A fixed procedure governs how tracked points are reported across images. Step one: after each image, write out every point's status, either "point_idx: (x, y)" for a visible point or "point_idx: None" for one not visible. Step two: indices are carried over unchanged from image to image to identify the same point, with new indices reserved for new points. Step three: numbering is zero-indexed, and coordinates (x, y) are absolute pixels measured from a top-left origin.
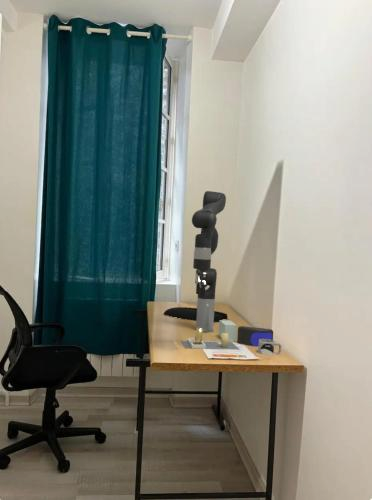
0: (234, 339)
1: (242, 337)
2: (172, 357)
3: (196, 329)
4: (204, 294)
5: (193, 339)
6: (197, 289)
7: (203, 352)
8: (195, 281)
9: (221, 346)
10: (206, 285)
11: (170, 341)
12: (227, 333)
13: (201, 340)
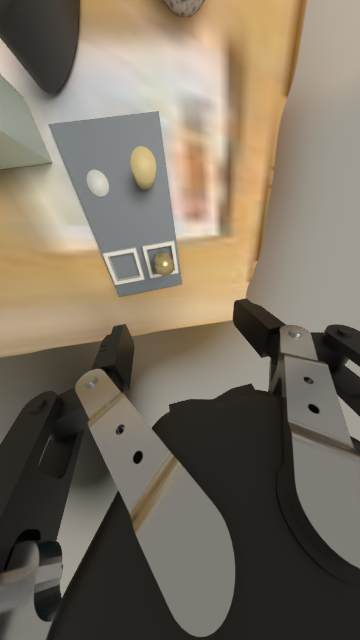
0: (14, 95)
1: (50, 36)
2: (217, 299)
3: (168, 274)
4: (250, 305)
5: (113, 270)
6: (130, 361)
7: None
8: (66, 438)
9: (150, 188)
10: (353, 333)
11: (102, 313)
12: (137, 150)
13: (166, 253)
